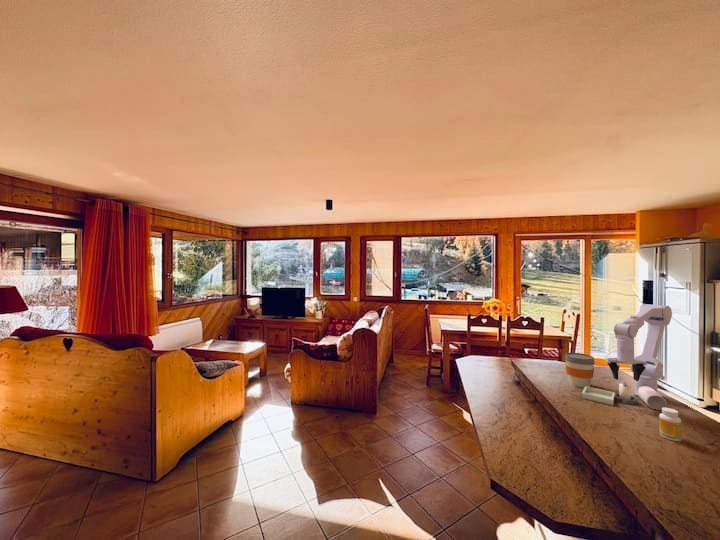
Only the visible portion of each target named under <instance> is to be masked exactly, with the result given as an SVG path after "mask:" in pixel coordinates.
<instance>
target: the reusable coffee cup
mask: <svg viewBox="0 0 720 540" xmlns="http://www.w3.org/2000/svg"><path fill="white" fill-rule="evenodd" d="M564 360H565V370H566V374H567V379H568V383H569V384H570V385H571V386H573V387H577V388H583V389H584V388H585V386H588V387H591V384H592V380H593V379H592V378H594V372H595V368H594V366H595V357H594V356H592V355H589V354H586V353H581V352H580V353H579V352H566V353H564Z"/></svg>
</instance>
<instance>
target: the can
mask: <svg viewBox="0 0 720 540" xmlns="http://www.w3.org/2000/svg"><path fill="white" fill-rule="evenodd" d="M637 392H638V395H639V396H638V397H639V398H641V401H643V402H645V404H646V405H647V406H648V407H649V408H650V409H652V410H655V409H656V411H662V408H667V405H668V404H667V401H666V400H667V399H665V398H664V397H663V396H662V395H661V394H660V393H659V392H658V391H657V392H656V391H655V390H654V389H652V388H650V387H647V386H641V387H639V388H638V390H637Z"/></svg>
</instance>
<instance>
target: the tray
mask: <svg viewBox="0 0 720 540" xmlns="http://www.w3.org/2000/svg"><path fill="white" fill-rule="evenodd" d="M615 393H616V392H614V391H609V390H605V389H600V388H596V387H591V386H590V387H588V386H585V388H583V390H582V391H581V399H583V400H584V399H585V400H588V401H592V402H597V403H601V404H604V405H608V406H614V403H615V401H616V400H615Z"/></svg>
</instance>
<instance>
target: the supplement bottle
mask: <svg viewBox="0 0 720 540" xmlns="http://www.w3.org/2000/svg"><path fill="white" fill-rule="evenodd" d="M661 412H662V413H660V414H659V415H658V417H659V418H658V419H659V420H658V421H659V422H658V423H659V427H658V428H659V429H658V432H659V435H660V436H661V438H662V437H663V438H664V439H667V440H670V441H674V442H681V441H682V438H683V437H682V419H681V418H680V417H679V411H678V410H676V409H674V408H672V407H671V408H669V407H665V408H662V410H661Z"/></svg>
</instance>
